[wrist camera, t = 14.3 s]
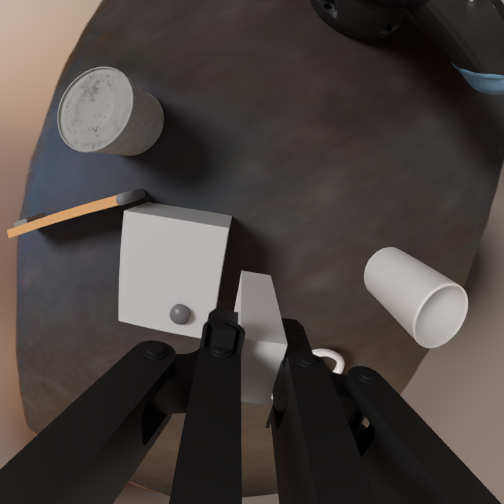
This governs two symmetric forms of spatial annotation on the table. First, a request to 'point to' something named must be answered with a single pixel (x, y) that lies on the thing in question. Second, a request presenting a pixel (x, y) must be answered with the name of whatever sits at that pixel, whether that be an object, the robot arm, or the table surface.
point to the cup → (416, 296)
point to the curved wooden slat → (74, 212)
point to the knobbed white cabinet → (171, 267)
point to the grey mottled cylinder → (109, 114)
